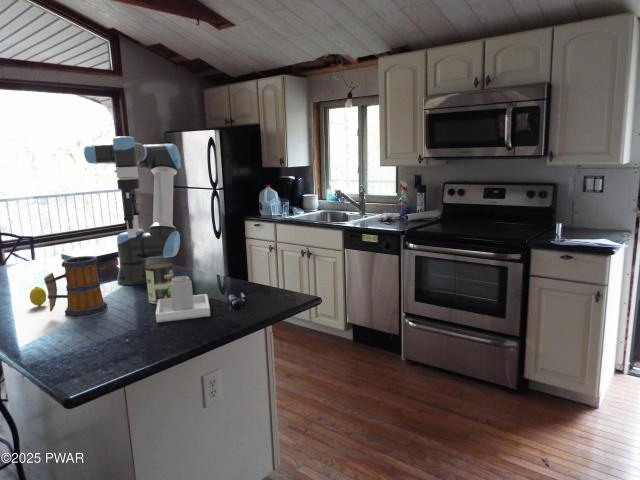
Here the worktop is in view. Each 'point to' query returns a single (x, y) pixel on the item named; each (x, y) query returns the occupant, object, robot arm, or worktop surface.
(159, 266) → the coffee can
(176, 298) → the can
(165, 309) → the tray
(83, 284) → the mug
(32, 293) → the lemon
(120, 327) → the worktop surface
